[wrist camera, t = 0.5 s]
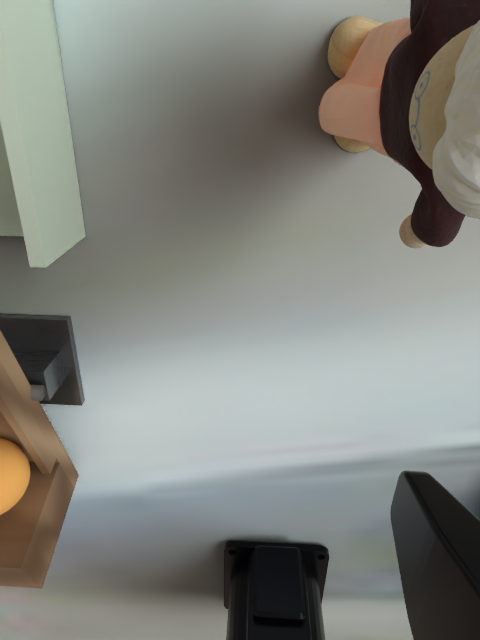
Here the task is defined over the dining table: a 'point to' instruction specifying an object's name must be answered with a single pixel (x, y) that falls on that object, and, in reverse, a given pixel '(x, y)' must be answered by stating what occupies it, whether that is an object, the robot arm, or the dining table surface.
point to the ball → (12, 474)
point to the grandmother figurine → (414, 106)
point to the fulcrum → (46, 355)
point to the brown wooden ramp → (31, 479)
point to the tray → (36, 135)
